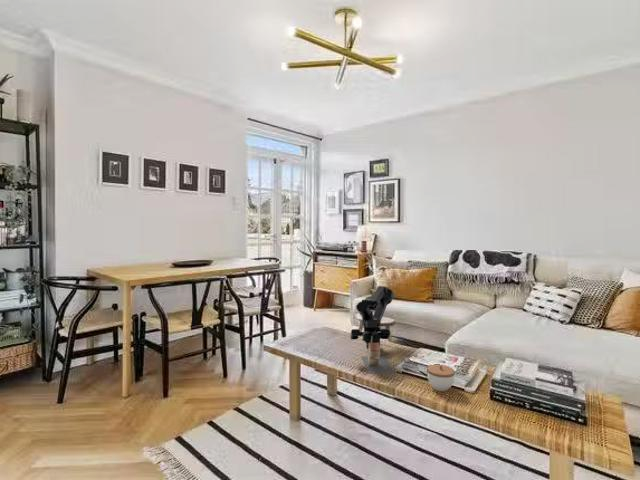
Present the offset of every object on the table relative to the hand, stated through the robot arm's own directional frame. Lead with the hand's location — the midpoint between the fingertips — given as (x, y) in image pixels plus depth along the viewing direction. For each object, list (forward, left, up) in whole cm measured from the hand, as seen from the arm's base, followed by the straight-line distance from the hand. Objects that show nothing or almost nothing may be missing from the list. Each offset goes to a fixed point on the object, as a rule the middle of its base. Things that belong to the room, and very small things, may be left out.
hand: (372, 350), depth 173 cm
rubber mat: (-2, +1, -7) cm, 7 cm away
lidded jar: (-23, +25, -7) cm, 35 cm away
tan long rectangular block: (0, 0, -5) cm, 5 cm away
